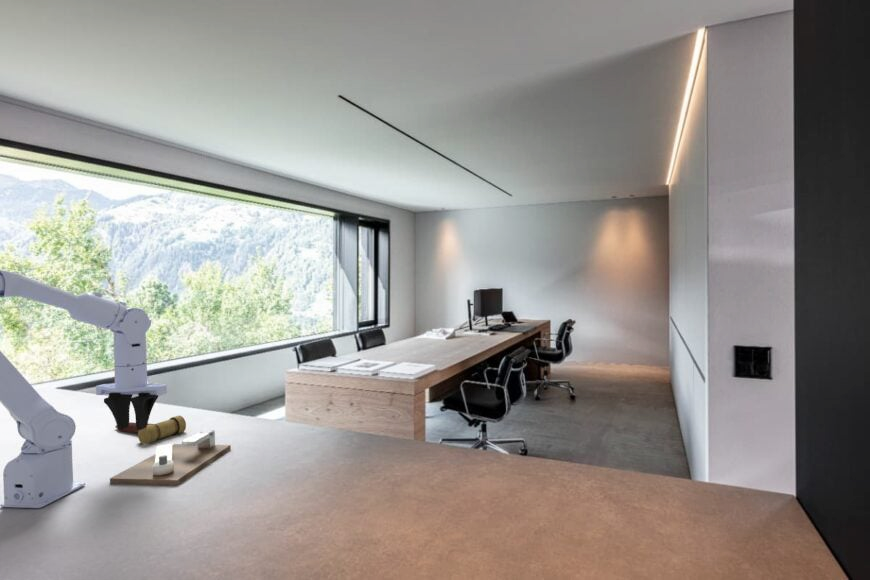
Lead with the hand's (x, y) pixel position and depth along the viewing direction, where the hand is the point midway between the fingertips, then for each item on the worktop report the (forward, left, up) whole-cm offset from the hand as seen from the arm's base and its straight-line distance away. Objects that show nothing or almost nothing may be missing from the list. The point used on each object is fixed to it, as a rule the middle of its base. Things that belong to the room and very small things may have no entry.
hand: (132, 428), depth 97 cm
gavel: (+22, +15, -9) cm, 28 cm away
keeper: (+7, -10, -7) cm, 14 cm away
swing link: (0, -7, -7) cm, 10 cm away
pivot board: (+2, -8, -8) cm, 12 cm away
